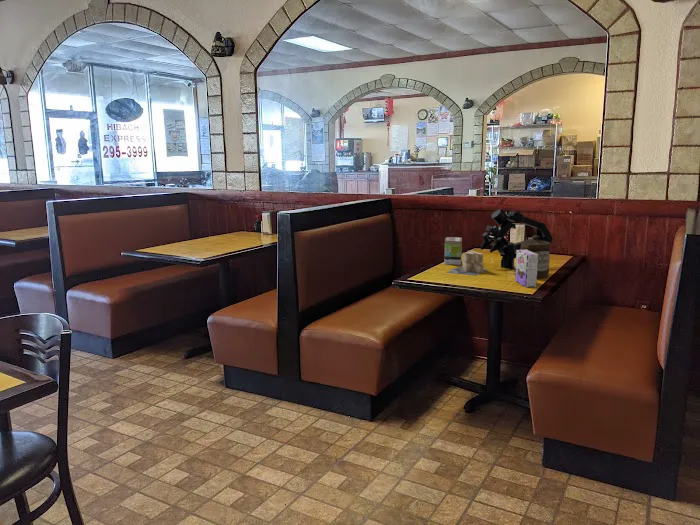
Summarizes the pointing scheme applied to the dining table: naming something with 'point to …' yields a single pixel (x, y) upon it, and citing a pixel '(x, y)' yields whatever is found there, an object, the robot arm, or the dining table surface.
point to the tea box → (453, 250)
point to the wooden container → (539, 254)
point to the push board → (460, 271)
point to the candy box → (526, 268)
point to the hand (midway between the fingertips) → (485, 250)
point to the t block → (472, 261)
